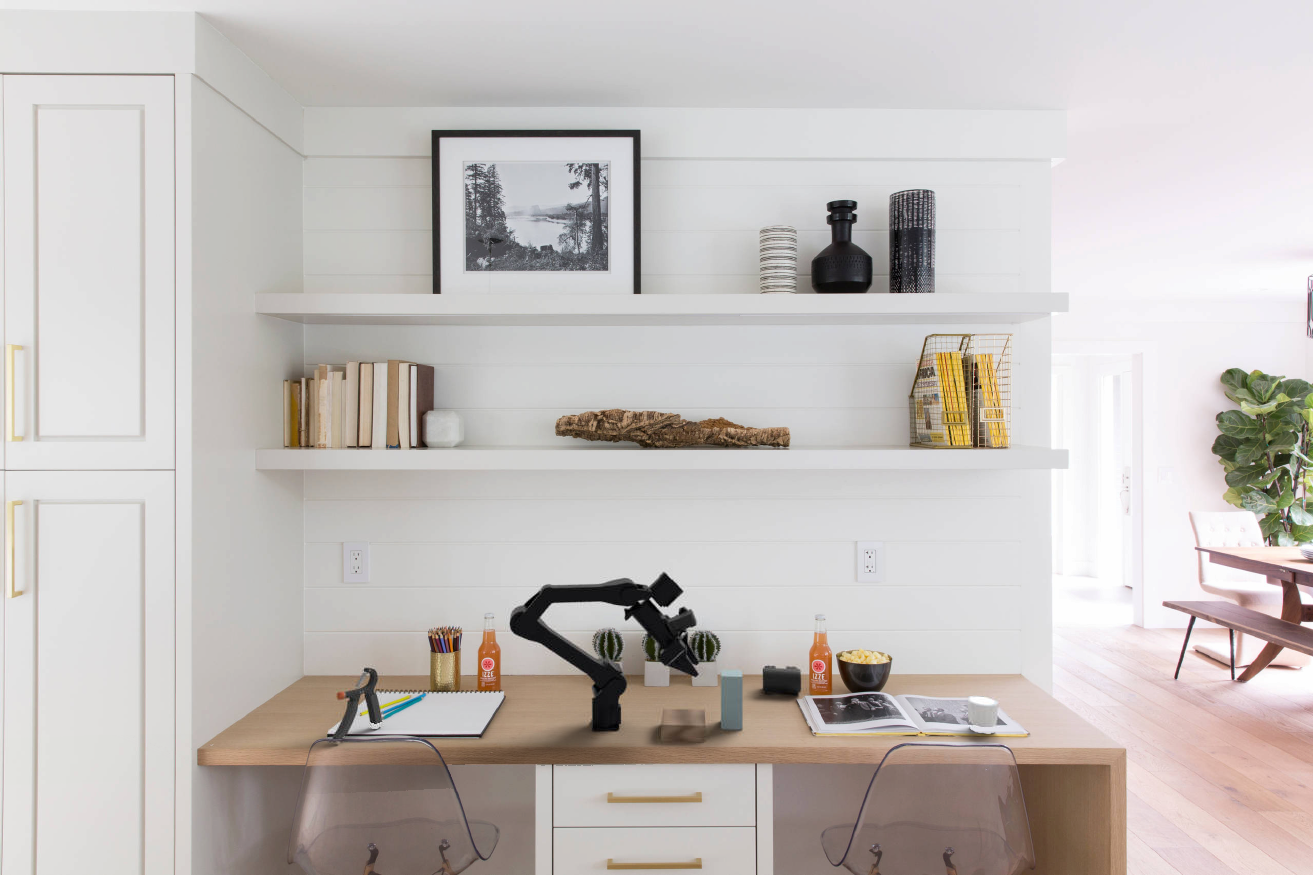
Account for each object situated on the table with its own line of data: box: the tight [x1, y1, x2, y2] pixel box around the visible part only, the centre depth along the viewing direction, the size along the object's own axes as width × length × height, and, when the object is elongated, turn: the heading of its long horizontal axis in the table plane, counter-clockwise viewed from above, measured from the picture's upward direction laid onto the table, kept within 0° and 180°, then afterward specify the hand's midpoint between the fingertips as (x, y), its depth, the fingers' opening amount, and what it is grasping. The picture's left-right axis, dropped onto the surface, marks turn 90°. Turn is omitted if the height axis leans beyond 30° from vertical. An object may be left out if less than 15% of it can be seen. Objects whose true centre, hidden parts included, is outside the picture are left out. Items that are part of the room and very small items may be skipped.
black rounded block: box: [762, 665, 802, 695], centre depth 202 cm, size 10×7×7 cm
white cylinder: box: [966, 695, 999, 727], centre depth 177 cm, size 7×7×7 cm
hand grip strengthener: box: [332, 667, 383, 739], centre depth 173 cm, size 2×12×15 cm, turn 149°
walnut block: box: [660, 708, 706, 743], centre depth 175 cm, size 10×10×4 cm
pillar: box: [720, 669, 744, 731], centre depth 179 cm, size 5×5×12 cm
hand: (697, 669), depth 180 cm, fingers open, 9 cm apart
